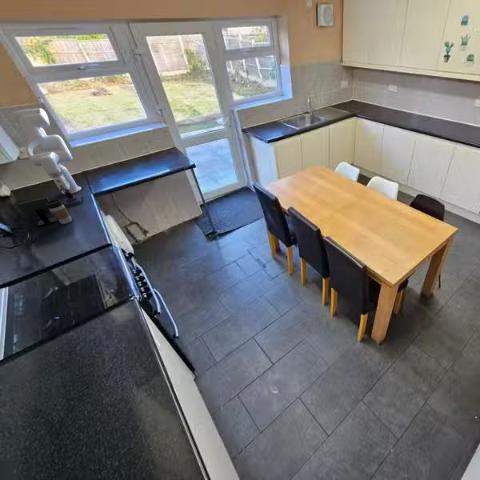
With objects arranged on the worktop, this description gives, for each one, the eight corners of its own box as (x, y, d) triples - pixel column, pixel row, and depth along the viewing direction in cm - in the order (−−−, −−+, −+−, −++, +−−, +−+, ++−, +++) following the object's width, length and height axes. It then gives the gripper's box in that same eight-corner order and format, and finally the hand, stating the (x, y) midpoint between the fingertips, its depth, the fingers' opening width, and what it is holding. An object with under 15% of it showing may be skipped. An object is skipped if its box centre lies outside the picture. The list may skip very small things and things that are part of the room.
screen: (29, 216, 174) (18, 203, 168) (56, 210, 180) (46, 196, 174) (28, 218, 173) (17, 204, 166) (56, 211, 179) (46, 197, 173)
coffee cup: (65, 225, 176) (51, 205, 166) (55, 224, 177) (40, 204, 168) (77, 218, 182) (64, 199, 173) (67, 217, 184) (53, 198, 174)
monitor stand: (39, 222, 180) (29, 208, 173) (58, 217, 184) (48, 204, 178) (38, 227, 175) (27, 213, 169) (57, 222, 179) (47, 208, 173)
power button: (69, 199, 200) (67, 197, 199) (75, 197, 201) (73, 195, 200) (68, 201, 197) (67, 198, 196) (74, 199, 199) (73, 197, 198)
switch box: (66, 201, 202) (63, 196, 200) (81, 197, 206) (78, 193, 204) (66, 207, 195) (62, 202, 193) (81, 203, 199) (78, 198, 197)
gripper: (61, 176, 184) (76, 199, 195) (62, 169, 194) (77, 192, 205) (47, 178, 180) (63, 203, 191) (49, 171, 190) (65, 195, 201)
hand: (70, 197), depth 198 cm, fingers closed
